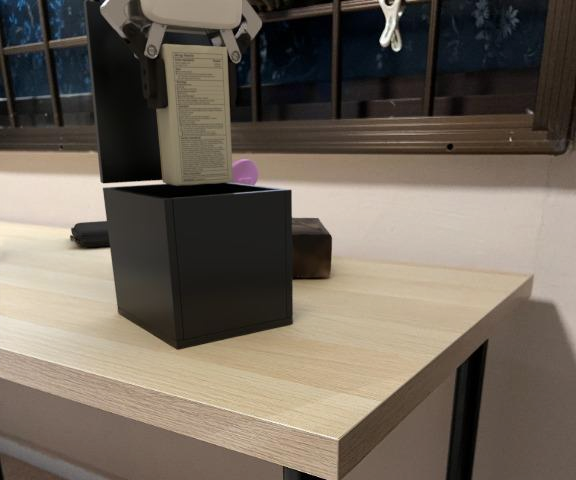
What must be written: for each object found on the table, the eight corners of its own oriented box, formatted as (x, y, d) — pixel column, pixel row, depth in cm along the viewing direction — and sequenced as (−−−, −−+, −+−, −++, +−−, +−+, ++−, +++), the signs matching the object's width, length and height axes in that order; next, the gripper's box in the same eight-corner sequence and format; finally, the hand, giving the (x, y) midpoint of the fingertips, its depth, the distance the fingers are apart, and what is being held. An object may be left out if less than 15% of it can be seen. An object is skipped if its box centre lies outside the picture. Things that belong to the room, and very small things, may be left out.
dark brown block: (320, 253, 102) (320, 212, 99) (333, 279, 84) (334, 231, 82) (272, 254, 101) (272, 213, 99) (275, 281, 84) (274, 232, 81)
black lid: (214, 13, 64) (190, 15, 68) (85, 0, 57) (67, 4, 61) (216, 176, 71) (194, 170, 75) (103, 183, 64) (85, 175, 68)
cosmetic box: (217, 181, 64) (211, 51, 60) (234, 183, 61) (230, 45, 56) (159, 183, 62) (148, 47, 57) (174, 186, 58) (164, 41, 53)
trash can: (293, 324, 65) (291, 189, 60) (177, 349, 58) (164, 199, 53) (221, 294, 77) (215, 180, 72) (117, 313, 70) (102, 187, 65)
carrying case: (66, 238, 119) (73, 250, 107) (63, 222, 118) (71, 232, 106) (121, 234, 123) (135, 245, 111) (119, 218, 122) (133, 228, 109)
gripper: (242, -92, 59) (248, 110, 66) (61, -131, 50) (90, 109, 57) (286, -116, 53) (288, 108, 60) (91, -164, 44) (119, 106, 51)
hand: (192, 107), depth 59 cm, fingers closed on cosmetic box, 6 cm apart
